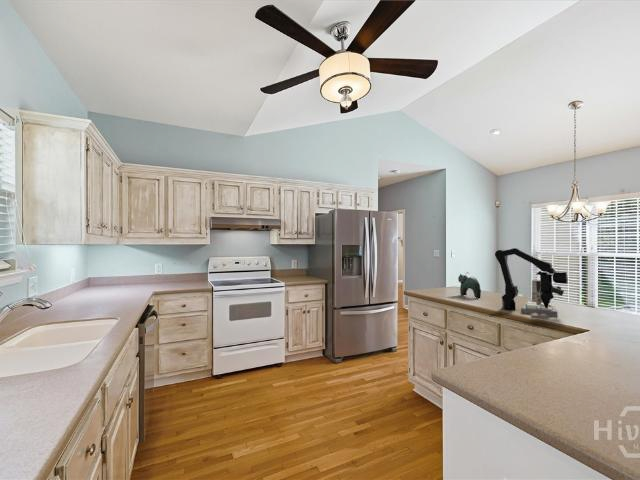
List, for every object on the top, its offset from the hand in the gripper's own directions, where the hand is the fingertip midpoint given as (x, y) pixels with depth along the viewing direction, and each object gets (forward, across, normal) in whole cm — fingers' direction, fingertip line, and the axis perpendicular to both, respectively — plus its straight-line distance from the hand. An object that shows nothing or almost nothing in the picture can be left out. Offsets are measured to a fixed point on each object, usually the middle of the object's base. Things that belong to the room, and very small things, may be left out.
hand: (546, 307), depth 184 cm
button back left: (+1, +8, +7) cm, 11 cm away
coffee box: (+4, +38, +2) cm, 38 cm away
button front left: (+1, 0, +7) cm, 8 cm away
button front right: (+2, 0, 0) cm, 2 cm away
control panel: (+4, +4, +4) cm, 6 cm away
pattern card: (+4, -10, +4) cm, 11 cm away
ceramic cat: (+4, +40, +48) cm, 63 cm away
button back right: (+1, +7, 0) cm, 8 cm away
